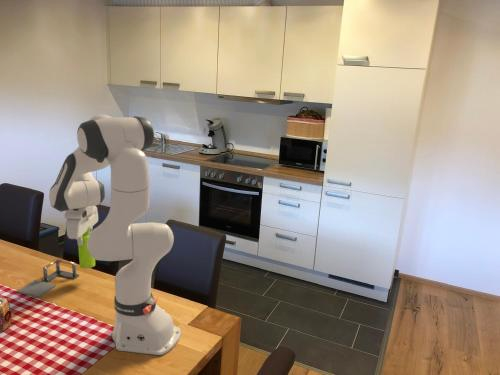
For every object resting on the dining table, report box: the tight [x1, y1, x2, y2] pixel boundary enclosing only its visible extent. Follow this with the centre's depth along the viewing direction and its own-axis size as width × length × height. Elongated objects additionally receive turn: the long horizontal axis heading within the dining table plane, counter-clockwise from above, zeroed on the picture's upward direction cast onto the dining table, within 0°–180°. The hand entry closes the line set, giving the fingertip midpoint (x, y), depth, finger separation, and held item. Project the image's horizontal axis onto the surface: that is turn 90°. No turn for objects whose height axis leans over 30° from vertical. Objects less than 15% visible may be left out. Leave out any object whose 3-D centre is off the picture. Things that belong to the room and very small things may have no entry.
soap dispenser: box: [77, 219, 96, 269], centre depth 164 cm, size 6×7×20 cm
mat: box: [16, 279, 57, 299], centre depth 161 cm, size 10×9×1 cm
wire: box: [41, 259, 80, 283], centre depth 169 cm, size 10×9×6 cm
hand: (84, 240), depth 164 cm, fingers closed on soap dispenser, 6 cm apart
